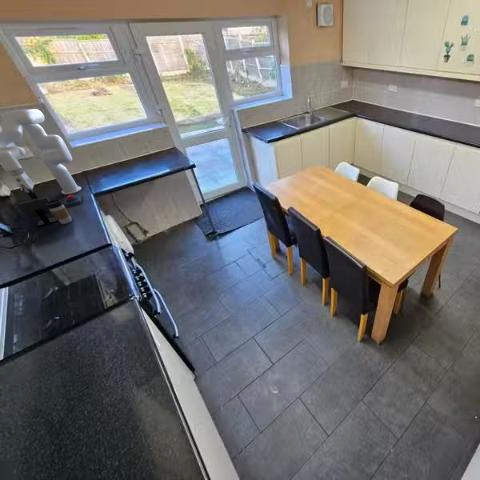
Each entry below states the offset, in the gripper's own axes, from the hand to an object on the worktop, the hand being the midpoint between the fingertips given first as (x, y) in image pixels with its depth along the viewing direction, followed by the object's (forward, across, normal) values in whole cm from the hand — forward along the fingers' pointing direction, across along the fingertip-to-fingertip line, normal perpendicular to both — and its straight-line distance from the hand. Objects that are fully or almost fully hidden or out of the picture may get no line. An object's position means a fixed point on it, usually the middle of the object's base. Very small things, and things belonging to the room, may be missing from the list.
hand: (35, 198), depth 175 cm
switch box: (+15, +16, -13) cm, 26 cm away
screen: (+9, -6, 0) cm, 11 cm away
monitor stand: (+15, -6, 0) cm, 16 cm away
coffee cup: (+15, -13, -10) cm, 23 cm away
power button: (+11, +16, -13) cm, 24 cm away
